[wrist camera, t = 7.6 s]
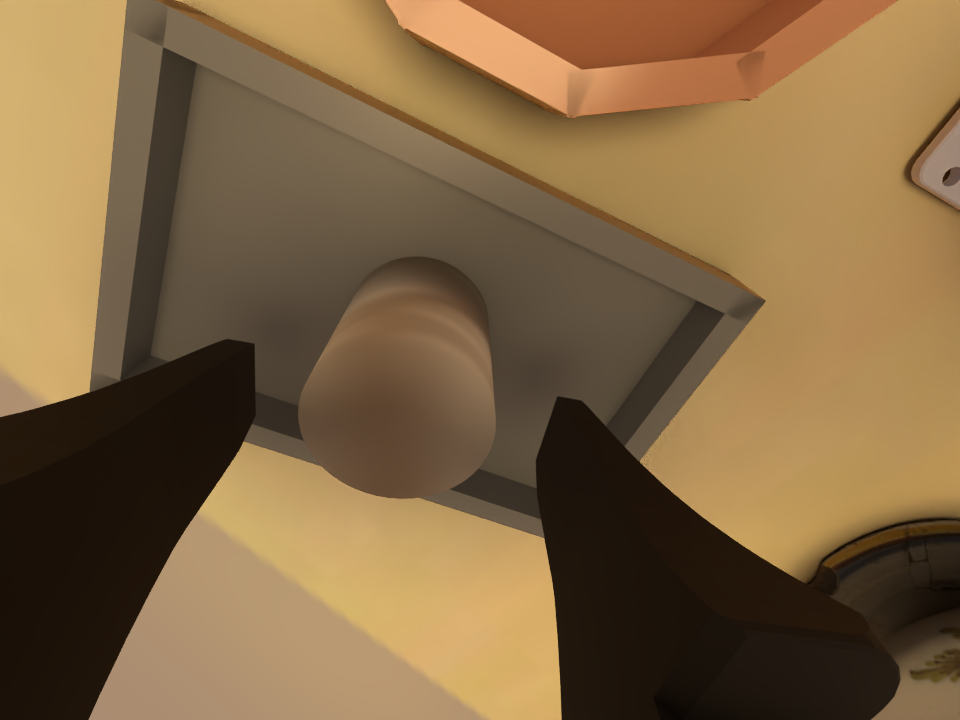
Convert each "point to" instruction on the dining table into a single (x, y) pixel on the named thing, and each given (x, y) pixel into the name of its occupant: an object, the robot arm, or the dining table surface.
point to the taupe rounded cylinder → (404, 384)
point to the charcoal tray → (375, 251)
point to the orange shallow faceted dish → (632, 46)
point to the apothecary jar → (907, 609)
